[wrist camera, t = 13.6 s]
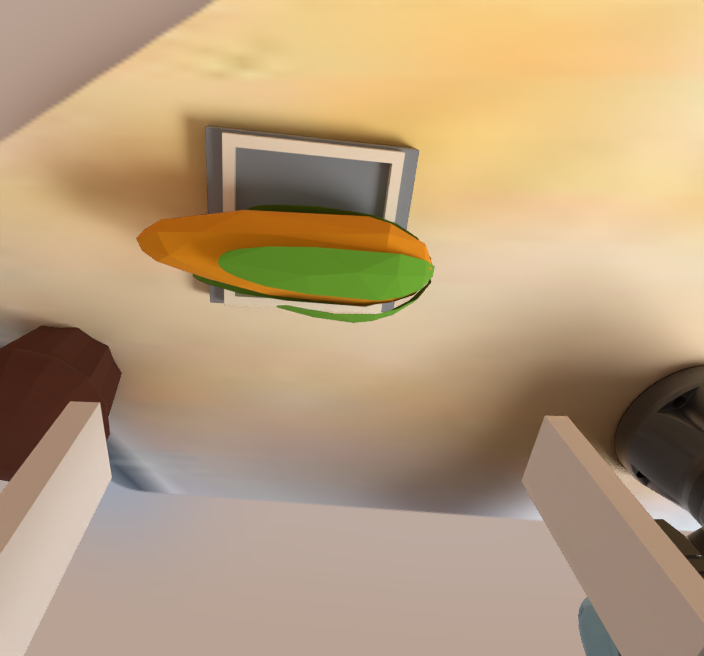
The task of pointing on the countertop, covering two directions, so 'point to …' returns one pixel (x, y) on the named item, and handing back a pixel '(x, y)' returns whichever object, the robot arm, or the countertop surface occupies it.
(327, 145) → the board
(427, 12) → the countertop surface
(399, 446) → the countertop surface
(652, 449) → the robot arm
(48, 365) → the muffin
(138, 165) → the countertop surface
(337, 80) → the countertop surface
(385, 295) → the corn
